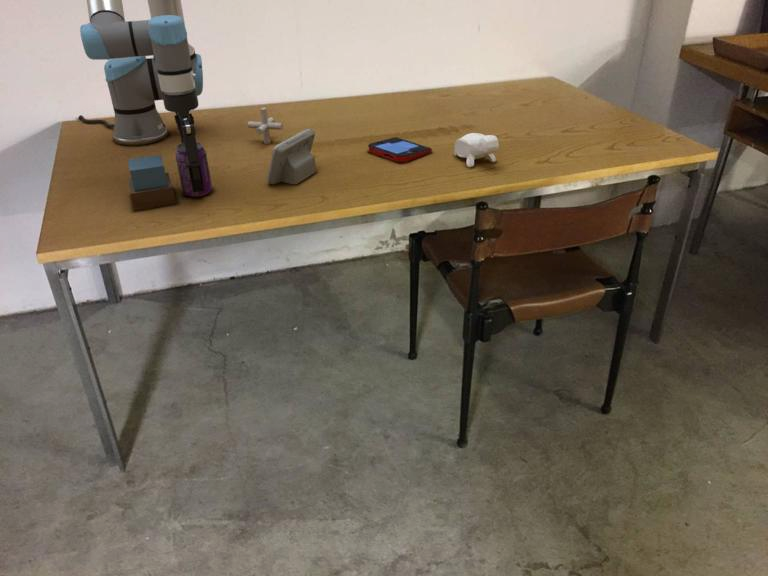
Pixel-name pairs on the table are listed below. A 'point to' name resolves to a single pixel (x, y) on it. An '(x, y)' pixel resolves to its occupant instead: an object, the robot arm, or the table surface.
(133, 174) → the blue block
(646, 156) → the table surface
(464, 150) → the white toy sheep
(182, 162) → the beverage can
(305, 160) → the digital clock
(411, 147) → the game console
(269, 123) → the pipe connector
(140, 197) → the walnut block
